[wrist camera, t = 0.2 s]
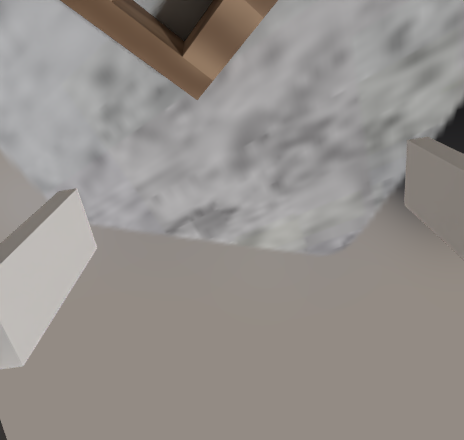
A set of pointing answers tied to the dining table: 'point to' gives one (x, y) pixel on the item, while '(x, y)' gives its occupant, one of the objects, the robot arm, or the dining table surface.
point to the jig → (170, 45)
